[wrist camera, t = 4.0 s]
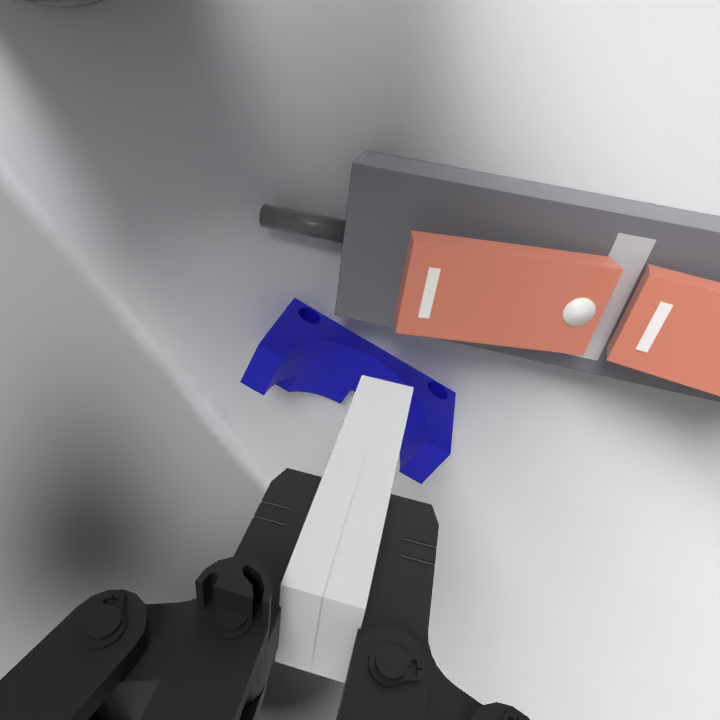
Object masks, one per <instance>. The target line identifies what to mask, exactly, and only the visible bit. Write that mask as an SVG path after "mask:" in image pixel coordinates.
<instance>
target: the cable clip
mask: <svg viewBox="0 0 720 720" xmlns="http://www.w3.org/2000/svg"><path fill="white" fill-rule="evenodd" d="M362 375H364V376H368V377H373V378H377V379H381V380H385V381H389V382H394V383H398V384H402V385H406V386H410V387H414V389H413V394H412V398H411V403H410V407H409V412H408V417H407V421H406V426H405V430H404V435H403V440H402V444H401V449H400V471H399V472H401V473H403V474H405V475H406V476H408V477H410V478H412V479H414V480H415V481H417V482H419V483H421V484H422V483H423V482H424V481H425V479H426V478H427V477H428V476H429V475H430V474H431V473H432V472H433V471H434V470H435V469H436V468H437V467H438V466H439V465H440V464H441V463H442V462H443V461H444V460H445V459H446V458H447V457H448V456H449V455H450V452H451V441H452V429H453V418H454V406H455V394H456V393H455V392H453V391H452V390H450V389H448V388H446V387H445V386H443V385H441V384H440V383H438V382H436V381H435V380H433V379H431V378H430V377H428V376H426V375H424V374H423V373H421V372H419V371H418V370H416V369H414V368H413V367H411V366H409V365H407V364H406V363H404V362H402V361H401V360H399V359H397V358H396V357H394V356H392V355H391V354H389V353H387V352H385V351H384V350H382V349H380V348H379V347H377V346H375V345H374V344H372V343H370V342H368V341H367V340H365V339H363V338H362V337H360V336H358V335H357V334H355V333H353V332H352V331H350V330H348V329H346V328H345V327H343V326H341V325H340V324H338V323H336V322H335V321H333V320H331V319H330V318H328V317H326V316H324V315H323V314H321V313H319V312H318V311H316V310H314V309H313V308H311V307H309V306H307V305H306V304H304V303H302V302H301V301H299V300H297V299H296V298H294V299H293V301H292V302H291V303H290V304H289V306H288V307H287V308H286V310H285V311H284V312H283V314H282V315H281V316H280V317H279V319H278V320H277V321H276V323H275V324H274V325H273V327H272V328H271V329H270V331H269V332H268V333H267V334H266V336H265V337H264V338H263V340H262V341H261V342H260V344H259V345H258V347H257V349H256V351H255V353H254V355H253V357H252V359H251V361H250V363H249V365H248V367H247V369H246V371H245V373H244V375H243V377H242V379H241V381H240V382H241V383H243V384H245V385H246V386H248V387H250V388H252V389H253V390H255V391H257V392H259V393H261V394H262V395H264V394H265V393H266V392H267V390H268V389H269V388H270V387H271V386H273V385H274V384H276V385H278V386H280V387H281V388H283V389H285V390H287V391H288V392H293V391H301V392H310V393H315V394H319V395H322V396H325V397H327V398H330V399H332V400H334V401H336V402H338V403H341V402H342V400H343V399H344V398H345V396H346V395H347V393H348V392H349V390H350V389H351V390H353V391H356V389H357V386H358V384H359V381H360V379H361V376H362Z"/></svg>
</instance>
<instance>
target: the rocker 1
mask: <svg viewBox="0 0 720 720" xmlns="http://www.w3.org/2000/svg"><path fill="white" fill-rule="evenodd" d="M623 270H624V269H623V268H622V267H621V266H619V265H618V264H617V263H616V262H615V261H614V260H613V259H612V258H611V257H609V256H602V255H594V254H587V253H579V252H572V251H564V250H556V249H549V248H541V247H534V246H526V245H518V244H511V243H503V242H496V241H488V240H480V239H473V238H465V237H458V236H450V235H443V234H435V233H427V232H420V231H412V230H411V233H410V238H409V244H408V249H407V254H406V259H405V264H404V269H403V274H402V280H401V285H400V290H399V295H398V300H397V305H396V310H395V315H394V324H395V333H397V334H405V335H414V336H422V337H431V338H439V339H448V340H456V341H465V342H473V343H482V344H491V345H499V346H508V347H516V348H525V349H533V350H542V351H550V352H559V353H567V354H576V355H584V353H585V351H586V349H587V347H588V344H589V342H590V340H591V338H592V336H593V334H594V332H595V330H596V327H597V325H598V323H599V321H600V319H601V317H602V315H603V312H604V310H605V308H606V306H607V304H608V302H609V300H610V297H611V295H612V293H613V291H614V289H615V287H616V285H617V282H618V280H619V278H620V276H621V274H622V272H623Z"/></svg>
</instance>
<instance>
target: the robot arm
mask: <svg viewBox="0 0 720 720" xmlns="http://www.w3.org/2000/svg"><path fill="white" fill-rule="evenodd" d="M15 1H21V2H26V3H35V4H44V5H54V6H64V7H72V6H83V5H87V4H92V3H95V2H98V1H101V0H15ZM413 389H414V387H410V386H406V385H402V384H398V383H394V382H389V381H385V380H381V379H377V378H373V377H368V376H364V375H362V376H361V379H360V381H359V384H358V386H357V389H356V391H355V394H354V397H353V399H352V402H351V404H350V407H349V410H348V412H347V415H346V417H345V420H344V422H343V425H342V428H341V430H340V433H339V435H338V438H337V440H336V443H335V446H334V448H333V451H332V453H331V456H330V459H329V461H328V464H327V466H326V469H325V471H324V474H323V477H319V476H315V475H312V474H308V473H304V472H300V471H297V470H293V469H289V468H287V469H286V470H284V471H283V472H282V473H281V474H280V475H278V476H277V477H276V478H275V479H274V480H273V481H271V483H270V485H269V487H268V489H267V491H266V493H265V495H264V497H263V499H262V502H261V503H260V505H259V507H258V509H257V511H256V513H255V516H254V518H253V519H252V521H251V523H250V525H249V527H248V529H247V531H246V533H245V535H244V537H243V539H242V541H241V543H240V545H239V547H238V549H237V551H236V553H235V555H234V557H231V558H227V559H223V560H219V561H217V562H215V563H214V564H212V565H211V566H209V567H207V568H206V569H205V570H204V571H203V572H202V573H201V575H200V576H199V577H198V579H197V580H196V581H195V584H196V594H197V598H196V599H193V600H191V601H186V602H179V603H164V604H145V603H144V602H143V601H142V600H141V599H140V598H139V597H138V596H137V595H136V594H135V593H132V592H129V591H126V590H107V591H105V592H102V593H99V594H97V595H94V596H91V597H90V598H89V599H87V600H86V601H85V602H83V603H82V604H80V605H79V606H78V607H76V609H74V610H73V611H72V612H71V613H70V614H69V615H68V616H67V617H66V618H65V619H64V620H63V621H62V622H61V623H60V624H59V625H58V626H57V627H56V628H54V629H53V630H52V631H51V632H50V633H49V634H48V635H47V636H46V637H45V638H44V639H43V640H42V641H41V642H40V643H39V644H38V645H37V646H36V647H35V648H33V650H31V651H30V652H29V653H28V654H27V655H26V656H25V657H24V658H23V659H22V660H21V661H20V662H19V663H18V664H17V665H16V666H15V667H14V668H12V669H11V670H10V671H9V672H8V673H7V674H6V675H5V676H4V677H3V678H2V679H1V680H0V720H256V719H257V716H258V713H259V710H260V707H261V704H262V701H263V698H264V696H265V690H266V683H267V677H268V674H269V671H270V668H271V666H272V663H273V660H274V657H275V661H276V662H279V663H282V664H285V665H288V666H291V667H295V668H298V669H301V670H304V671H308V672H311V673H314V674H317V675H321V676H324V677H327V678H330V679H334V680H337V681H340V682H343V683H345V685H344V689H343V694H342V698H341V703H340V707H339V711H338V715H337V719H336V720H530V719H529V718H528V717H527V716H525V715H524V714H523V713H521V712H520V711H518V710H517V709H515V708H514V707H513V706H509V705H505V704H501V703H497V702H496V703H491V704H487V705H482V704H480V703H479V702H477V701H476V700H475V699H473V698H472V697H470V696H469V695H468V694H466V693H465V692H463V691H462V690H461V689H459V688H458V687H456V686H455V685H454V684H453V683H452V682H451V681H449V680H448V679H447V678H446V677H445V676H444V675H443V673H442V672H441V671H440V669H439V668H438V667H437V665H436V663H435V661H434V659H433V657H432V655H431V651H430V647H429V643H428V626H429V616H430V607H431V597H432V587H433V577H434V564H435V557H436V546H437V537H438V528H439V524H438V522H437V519H436V516H435V513H434V510H433V507H432V505H430V504H426V503H423V502H419V501H415V500H411V499H407V498H404V497H400V496H396V495H392V494H391V490H392V486H393V481H394V476H395V472H396V467H397V463H398V458H399V453H400V449H401V444H402V440H403V435H404V430H405V426H406V421H407V417H408V412H409V407H410V403H411V398H412V394H413ZM275 654H276V655H275Z"/></svg>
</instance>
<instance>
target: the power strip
mask: <svg viewBox="0 0 720 720" xmlns="http://www.w3.org/2000/svg"><path fill="white" fill-rule="evenodd" d="M259 220H260V225H261V226H262V227H266V228H271V229H276V230H281V231H286V232H291V233H295V234H300V235H305V236H310V237H315V238H319V239H324V240H329V241H334V242H339V243H343V249H342V257H341V266H340V275H339V283H338V292H337V300H336V309H335V315H336V316H341V317H345V318H349V319H354V320H358V321H363V322H367V323H372V324H376V325H381V326H385V327H390V328H394V329H395V324H394V315H395V310H396V305H397V300H398V295H399V290H400V285H401V280H402V274H403V269H404V264H405V259H406V254H407V249H408V244H409V238H410V233H411V230H412V231H420V232H427V233H435V234H443V235H450V236H458V237H465V238H473V239H480V240H488V241H496V242H503V243H511V244H518V245H526V246H534V247H541V248H549V249H556V250H564V251H572V252H579V253H587V254H594V255H602V256H609V257H611V258H612V259H613V260H614V261H615V262H616V263H617V264H618V265H619V266H621V267H622V268H623V269H624V270H623V272H622V274H621V276H620V278H619V280H618V282H617V285H616V287H615V289H614V291H613V293H612V295H611V297H610V300H609V302H608V304H607V306H606V308H605V310H604V312H603V315H602V317H601V319H600V321H599V323H598V325H597V327H596V330H595V332H594V334H593V336H592V338H591V340H590V342H589V344H588V347H587V349H586V351H585V353H584V355H576V354H567V353H559V352H550V351H542V350H533V349H525V348H516V347H508V346H499V345H491V344H482V343H473V342H465V341H456V340H448V339H443V340H447V341H452V342H456V343H461V344H465V345H470V346H474V347H479V348H483V349H487V350H492V351H496V352H501V353H505V354H510V355H514V356H519V357H523V358H528V359H532V360H536V361H541V362H545V363H550V364H554V365H559V366H563V367H568V368H572V369H577V370H581V371H585V372H590V373H594V374H599V375H603V376H608V377H612V378H617V379H621V380H625V381H630V382H634V383H639V384H643V385H648V386H652V387H657V388H661V389H666V390H670V391H674V392H679V393H683V394H688V395H692V396H697V397H701V398H706V399H710V400H715V401H719V402H720V396H718V395H714V394H711V393H708V392H705V391H702V390H699V389H696V388H692V387H689V386H686V385H683V384H680V383H677V382H674V381H670V380H667V379H664V378H661V377H658V376H655V375H651V374H648V373H645V372H642V371H639V370H636V369H633V368H629V367H626V366H623V365H620V364H617V363H614V362H610V361H607V346H608V344H609V342H610V340H611V338H612V336H613V334H614V332H615V330H616V328H617V326H618V324H619V322H620V320H621V318H622V316H623V314H624V312H625V310H626V308H627V306H628V304H629V302H630V300H631V298H632V296H633V294H634V292H635V290H636V288H637V285H638V283H639V281H640V279H641V277H642V275H643V273H644V271H645V269H646V267H647V265H648V264H650V265H654V266H658V267H662V268H666V269H670V270H674V271H677V272H681V273H685V274H689V275H693V276H697V277H701V278H704V279H708V280H712V281H716V282H720V216H715V215H709V214H704V213H698V212H693V211H688V210H682V209H677V208H672V207H666V206H661V205H655V204H650V203H645V202H639V201H634V200H628V199H623V198H618V197H612V196H607V195H602V194H596V193H591V192H585V191H580V190H575V189H569V188H564V187H559V186H553V185H548V184H542V183H537V182H532V181H526V180H521V179H516V178H510V177H505V176H499V175H494V174H489V173H483V172H478V171H473V170H467V169H462V168H456V167H451V166H446V165H440V164H435V163H430V162H424V161H419V160H413V159H408V158H403V157H397V156H392V155H386V154H381V153H376V152H370V151H366V152H365V153H363V154H362V155H361V156H360V157H359V158H358V159H356V160H355V161H354V162H353V163H352V171H351V180H350V189H349V197H348V206H347V214H346V220H341V219H336V218H331V217H326V216H321V215H316V214H311V213H306V212H301V211H296V210H291V209H286V208H282V207H277V206H272V205H267V204H264V205H263V206H262V208H261V211H260V218H259Z"/></svg>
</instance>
